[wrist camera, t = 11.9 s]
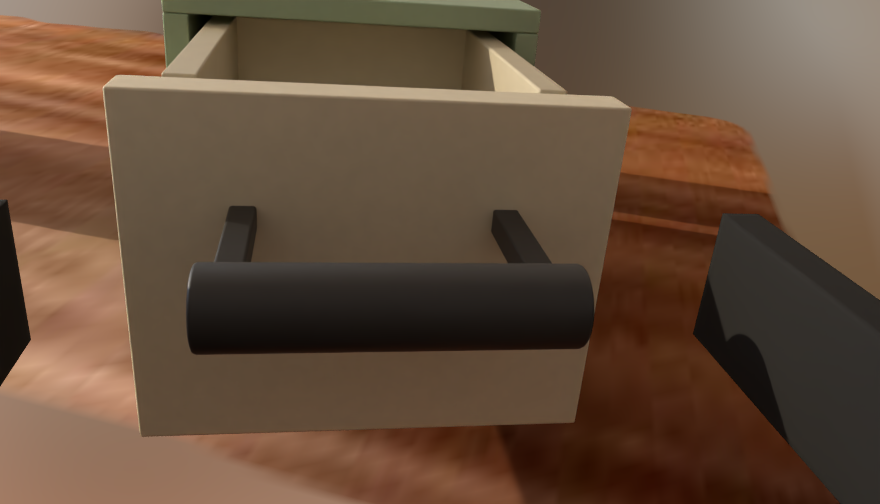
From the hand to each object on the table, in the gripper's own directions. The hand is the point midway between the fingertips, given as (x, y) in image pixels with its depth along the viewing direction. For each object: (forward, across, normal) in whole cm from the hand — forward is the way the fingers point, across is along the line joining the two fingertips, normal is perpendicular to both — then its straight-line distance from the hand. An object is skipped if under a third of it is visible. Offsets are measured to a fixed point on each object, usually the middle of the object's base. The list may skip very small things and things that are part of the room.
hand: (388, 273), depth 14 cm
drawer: (+8, 0, -6) cm, 10 cm away
